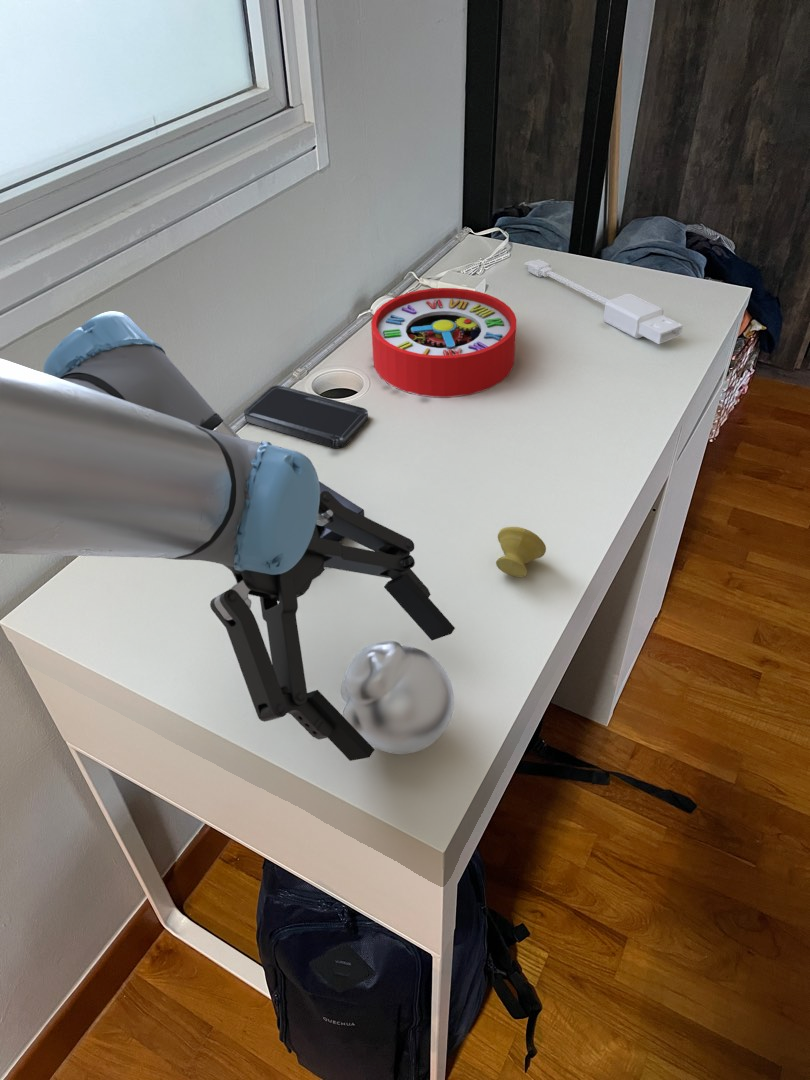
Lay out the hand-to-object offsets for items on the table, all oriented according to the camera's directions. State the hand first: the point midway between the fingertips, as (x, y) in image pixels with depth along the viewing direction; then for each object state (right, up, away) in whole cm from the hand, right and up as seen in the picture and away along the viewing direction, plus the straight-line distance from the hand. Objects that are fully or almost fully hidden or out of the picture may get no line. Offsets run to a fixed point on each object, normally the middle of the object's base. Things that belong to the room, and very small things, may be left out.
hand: (405, 691), depth 67 cm
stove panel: (-12, +13, +23) cm, 30 cm away
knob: (+12, +9, +18) cm, 24 cm away
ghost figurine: (-1, -4, +4) cm, 6 cm away
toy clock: (+5, +38, +50) cm, 63 cm away
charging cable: (+29, +48, +60) cm, 82 cm away
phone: (-13, +28, +39) cm, 50 cm away
